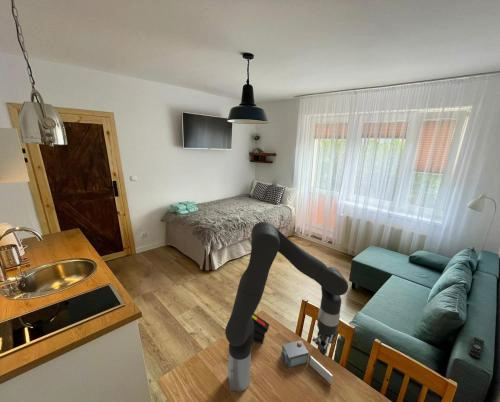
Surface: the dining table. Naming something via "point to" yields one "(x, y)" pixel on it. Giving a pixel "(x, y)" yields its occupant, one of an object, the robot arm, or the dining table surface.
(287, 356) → the camera body
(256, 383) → the dining table surface
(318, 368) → the side door
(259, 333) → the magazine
